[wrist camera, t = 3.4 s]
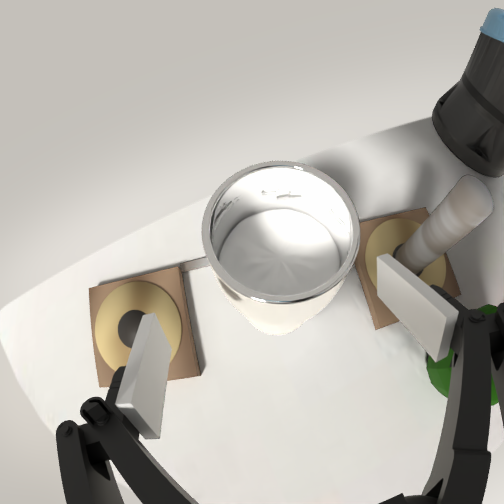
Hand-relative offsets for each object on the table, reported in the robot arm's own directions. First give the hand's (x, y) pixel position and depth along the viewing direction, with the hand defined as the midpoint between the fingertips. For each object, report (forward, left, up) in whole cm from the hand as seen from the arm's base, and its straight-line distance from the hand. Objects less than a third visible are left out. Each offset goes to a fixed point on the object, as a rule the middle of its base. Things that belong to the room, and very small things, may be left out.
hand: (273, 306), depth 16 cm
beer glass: (-1, -2, -10) cm, 10 cm away
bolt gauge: (-1, -2, -9) cm, 10 cm away
